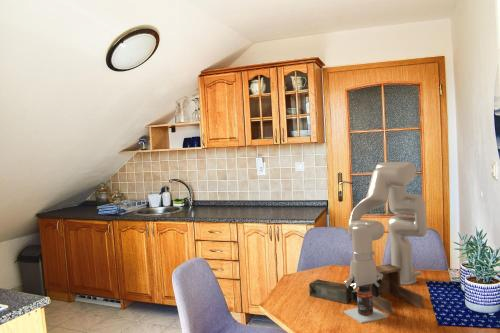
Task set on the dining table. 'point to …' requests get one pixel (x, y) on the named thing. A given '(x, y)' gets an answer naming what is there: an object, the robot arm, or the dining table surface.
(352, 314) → the tile
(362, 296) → the supplement bottle
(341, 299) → the beverage carton
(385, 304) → the brown boxy piece
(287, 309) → the dining table surface
